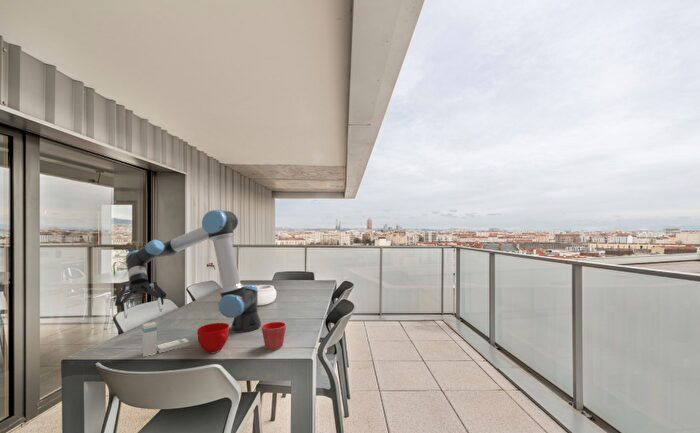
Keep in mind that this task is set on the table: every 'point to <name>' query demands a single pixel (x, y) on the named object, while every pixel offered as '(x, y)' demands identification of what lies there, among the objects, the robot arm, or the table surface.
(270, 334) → the flower pot
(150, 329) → the stub
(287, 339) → the table surface
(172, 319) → the table surface
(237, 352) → the table surface
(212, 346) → the ceramic cup
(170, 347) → the strip
